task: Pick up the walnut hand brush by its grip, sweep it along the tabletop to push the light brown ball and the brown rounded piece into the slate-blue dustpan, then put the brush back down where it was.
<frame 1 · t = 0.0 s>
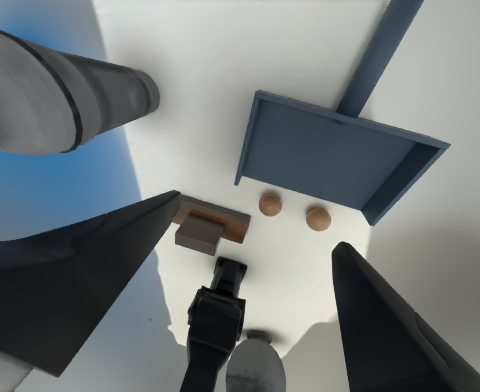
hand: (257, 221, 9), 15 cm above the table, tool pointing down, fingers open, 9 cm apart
beverage cup: (143, 92, 21), on the table
dustpan: (316, 159, 21), on the table
brown rounded piece 2: (270, 205, 25), point 2 cm above the table
grey tall bottle-shaped piece: (254, 335, 55), on the table
brush: (211, 213, 30), on the table
light brown ball 1: (318, 219, 24), point 2 cm above the table
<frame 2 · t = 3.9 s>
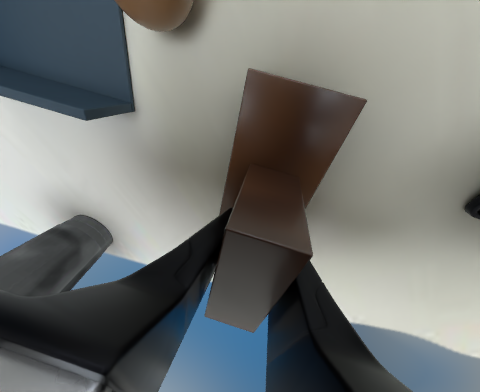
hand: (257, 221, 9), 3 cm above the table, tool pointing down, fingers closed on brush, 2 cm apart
beverage cup: (94, 230, 19), on the table
brush: (261, 192, 12), on the table, touching gripper
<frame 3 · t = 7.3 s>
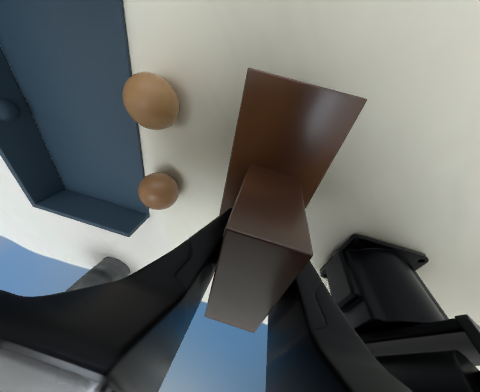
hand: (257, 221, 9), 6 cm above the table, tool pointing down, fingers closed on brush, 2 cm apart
beverage cup: (117, 265, 28), on the table
dustpan: (84, 123, 15), on the table
brown rounded piece 2: (159, 191, 15), point 2 cm above the table
brush: (262, 192, 12), point 3 cm above the table, touching gripper
light brown ball 1: (152, 103, 11), point 2 cm above the table
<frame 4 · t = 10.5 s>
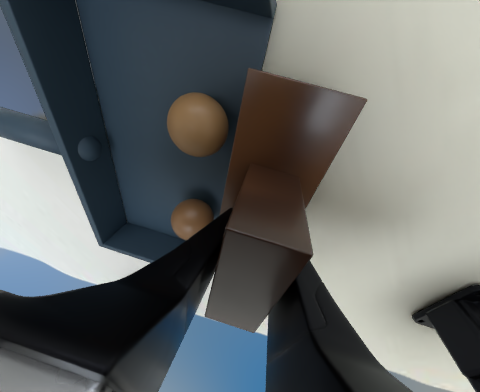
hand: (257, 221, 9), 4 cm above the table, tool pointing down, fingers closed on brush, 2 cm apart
dustpan: (172, 160, 13), on the table
brown rounded piece 2: (193, 219, 13), point 2 cm above the table, tilted 175°, touching dustpan
brush: (262, 192, 12), point 1 cm above the table, touching gripper
light brown ball 1: (198, 126, 9), point 2 cm above the table, tilted 178°, touching dustpan
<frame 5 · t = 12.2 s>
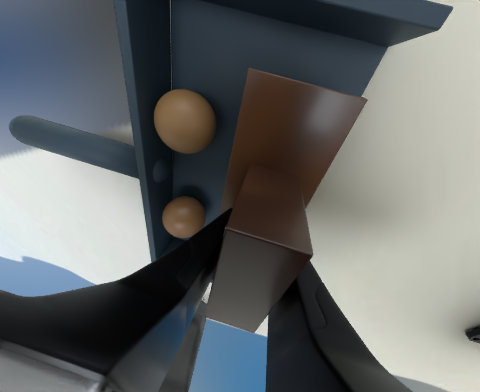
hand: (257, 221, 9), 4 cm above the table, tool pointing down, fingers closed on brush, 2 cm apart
beverage cup: (194, 303, 26), on the table
dustpan: (237, 179, 13), on the table
brown rounded piece 2: (184, 216, 13), point 2 cm above the table, tilted 23°, touching dustpan
brush: (262, 192, 12), point 1 cm above the table, touching gripper
light brown ball 1: (186, 123, 9), point 2 cm above the table, tilted 26°, touching dustpan
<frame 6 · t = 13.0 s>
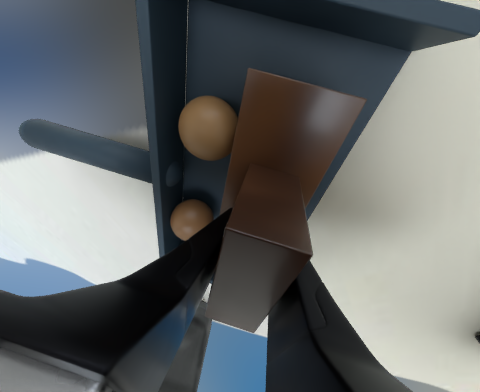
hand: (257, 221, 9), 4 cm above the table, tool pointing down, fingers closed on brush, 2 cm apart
beverage cup: (199, 305, 26), on the table
dustpan: (249, 183, 13), on the table
brown rounded piece 2: (192, 220, 13), point 2 cm above the table, tilted 31°, touching dustpan
brush: (262, 192, 12), point 1 cm above the table, touching gripper
light brown ball 1: (210, 130, 9), point 2 cm above the table, tilted 10°, touching dustpan
when the fingers open (3 cm above the table, at t = 18.1 s): brush stays where it is, on the table.
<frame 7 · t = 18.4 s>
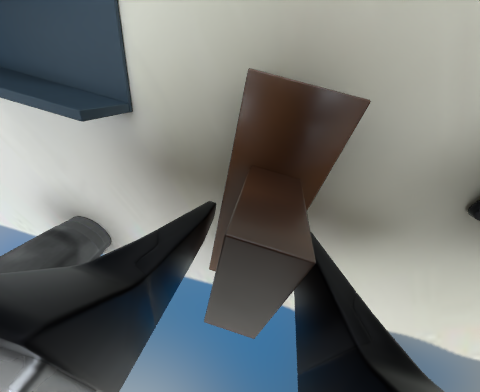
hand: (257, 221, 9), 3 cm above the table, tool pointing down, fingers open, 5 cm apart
beverage cup: (93, 231, 19), on the table
brush: (262, 194, 12), on the table
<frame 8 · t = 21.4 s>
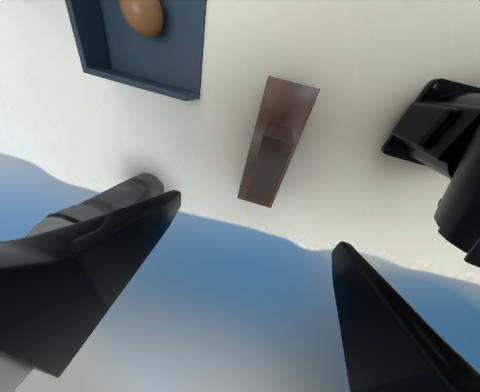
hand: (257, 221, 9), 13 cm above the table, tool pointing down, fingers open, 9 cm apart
beverage cup: (151, 185, 27), on the table
brown rounded piece 2: (142, 11, 14), point 2 cm above the table, tilted 101°, touching dustpan
brush: (271, 147, 20), on the table
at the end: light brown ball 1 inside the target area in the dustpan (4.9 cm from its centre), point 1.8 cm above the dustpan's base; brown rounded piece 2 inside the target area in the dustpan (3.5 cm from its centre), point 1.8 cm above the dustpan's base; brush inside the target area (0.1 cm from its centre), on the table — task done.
